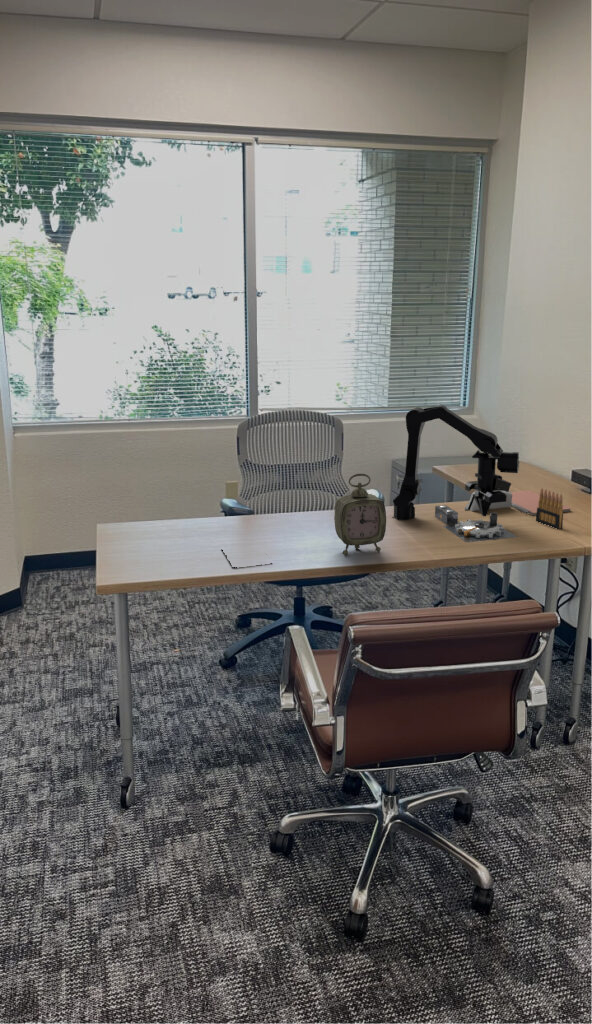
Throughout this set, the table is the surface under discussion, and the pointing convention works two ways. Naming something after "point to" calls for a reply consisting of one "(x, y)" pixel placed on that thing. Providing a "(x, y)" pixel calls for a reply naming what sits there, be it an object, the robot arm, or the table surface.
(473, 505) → the grey half-round block
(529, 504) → the notebook
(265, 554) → the table surface
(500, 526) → the sprocket wheel
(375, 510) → the tabletop clock
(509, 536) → the base plate
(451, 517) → the chain link
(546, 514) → the ammunition clip
